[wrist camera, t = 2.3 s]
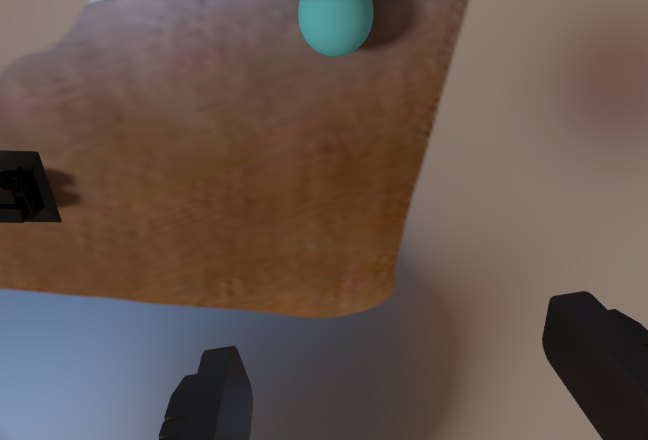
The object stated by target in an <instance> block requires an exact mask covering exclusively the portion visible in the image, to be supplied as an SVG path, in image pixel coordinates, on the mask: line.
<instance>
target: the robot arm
mask: <svg viewBox="0 0 648 440" xmlns="http://www.w3.org/2000/svg"><path fill="white" fill-rule="evenodd" d="M542 343H543V348H544V352H545V355H546V357H547V359H548V361H549V363H550V364H551V366H552V367H553V369H554V370H555V371H556V373H557V374H558V376H559V377H560V379H561V380H562V382H563V383H564V385H565V386H566V387H567V389H568V390H569V392H570V393H571V395H572V396H573V397H574V399H575V400H576V402H577V403H578V405H579V406H580V408H581V409H582V410H583V412H584V413H585V415H586V416H587V418H588V419H589V421H590V422H591V423H592V425H593V426H594V428H595V429H596V431H597V432H598V433H599V435H600V436H601V438H602V439H603V440H648V330H647V329H646V328H645V327H644V326H642V325H641V324H640V323H639V322H637V321H635V320H633V319H632V318H630V317H628V316H626V315H624V314H623V313H621V312H619V311H618V310H616V309H612V310H607V309H606V308H605V307H604V306H603V305H602V304H601V303H600V302H599V301H598V300H597V299H596V298H595V297H594V296H593V295H592V294H590V293H588V292H585V291H582V292H576V293H570V294H563V295H557V296H553V297H551V299H550V301H549V305H548V311H547V316H546V322H545V326H544V332H543V337H542ZM252 410H253V396H252V388H251V384H250V381H249V378H248V376H247V373H246V370H245V368H244V365H243V363H242V360H241V357H240V355H239V352H238V350H237V348H236V347H235V346H230V347H224V348H217V349H212V350H205V351H204V353H203V354H202V357H201V361H200V365H199V369H198V373H197V374H194V375H187V376H185V377H184V378H183V380H182V381H181V383H180V384H179V385H178V387H177V388H176V390H175V391H174V392H173V394H172V396H171V398H170V401H169V404H168V408H167V411H166V414H165V421H164V422H163V424H162V427H161V430H160V433H159V440H249V439H250V430H251V420H252Z"/></svg>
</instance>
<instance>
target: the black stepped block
mask: <svg viewBox="0 0 648 440" xmlns="http://www.w3.org/2000/svg"><path fill="white" fill-rule="evenodd" d="M0 222H3V223H24V222H62V221H61V218H60V215H59V212H58V209H57V206H56V203H55V200H54V197H53V194H52V191H51V188H50V185H49V182H48V179H47V176H46V173H45V170H44V168H43V165H42V162H41V159H40V156H39V153H38V152H32V151H0Z"/></svg>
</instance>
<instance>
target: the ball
mask: <svg viewBox="0 0 648 440" xmlns="http://www.w3.org/2000/svg"><path fill="white" fill-rule="evenodd" d="M373 17H374V10H373V3H372V0H300V3H299V8H298V20H299V26H300V29H301V32H302V34H303V36H304V38H305V40H306V41H307V42H308V43H309V45H310V46H311V47H312V48H314V49H315V50H316V51H318V52H320V53H322V54H324V55H328V56H343V55H347V54H349V53H351V52H353V51H355V50H356V49H357V48H358V47H360V46H361V45H362V43H363V42H364V41H365V40H366V38H367V36H368V35H369V33H370V30H371V27H372V23H373Z"/></svg>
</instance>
